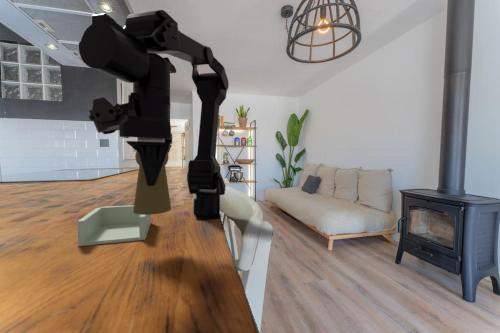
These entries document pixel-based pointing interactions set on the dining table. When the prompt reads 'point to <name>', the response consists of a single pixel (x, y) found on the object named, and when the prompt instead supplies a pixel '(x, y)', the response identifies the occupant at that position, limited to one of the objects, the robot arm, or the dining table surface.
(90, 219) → the u rest
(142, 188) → the cork
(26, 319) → the dining table surface
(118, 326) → the dining table surface
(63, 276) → the dining table surface
